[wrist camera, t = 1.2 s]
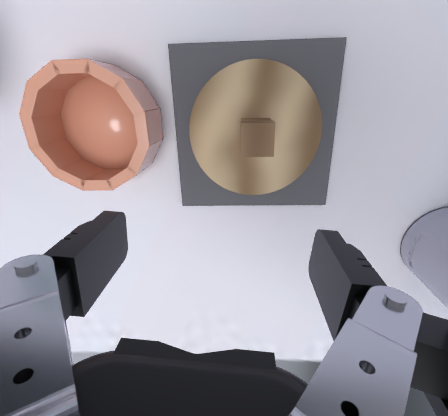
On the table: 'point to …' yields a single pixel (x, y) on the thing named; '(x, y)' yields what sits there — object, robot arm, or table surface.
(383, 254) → the table surface
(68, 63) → the bowl
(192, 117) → the lid
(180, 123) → the mat
